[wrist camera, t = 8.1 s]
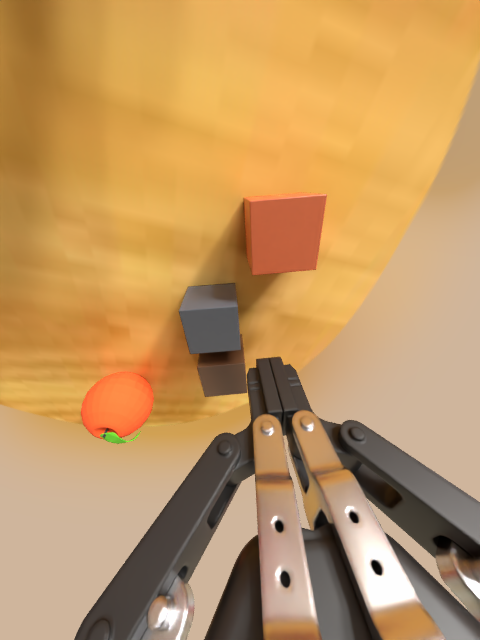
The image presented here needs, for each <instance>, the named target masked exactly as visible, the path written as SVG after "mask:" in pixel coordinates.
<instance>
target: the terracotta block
mask: <svg viewBox="0 0 480 640" xmlns="http://www.w3.org/2000/svg"><path fill="white" fill-rule="evenodd" d="M326 197H327V194H315V193H293V194H281V195H269V196H257V197H246V198H244V212H245V231H246V251H247V259H248V262H249V265H250V269H251V272H252V275H261V274H272V273H284V272H295V271H306V270H316V266H317V259H318V252H319V245H320V238H321V232H322V225H323V218H324V211H325V204H326Z"/></svg>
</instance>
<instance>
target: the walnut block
mask: <svg viewBox="0 0 480 640" xmlns="http://www.w3.org/2000/svg"><path fill="white" fill-rule="evenodd" d="M240 345H241V350H235V351H222V352H210V353H199V360H198V366H197V369H198V372H199V376H200V380H201V383H202V387H203V391H204V394H205V397H209V396H220V395H230V394H241V393H247V383H246V370H245V359H244V350H243V341H242V334H240Z"/></svg>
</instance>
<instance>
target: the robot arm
mask: <svg viewBox="0 0 480 640" xmlns="http://www.w3.org/2000/svg"><path fill="white" fill-rule="evenodd" d="M247 386H248V397H249V405H250V413H251V422H250V424H249V426H248V427H247V428H246V429H245V430H243V431H241V432H239V433H237V434H235V435H233V434H231V433H222V434H219V435H218V436H217V437H215V439H214V440H213V441H212V442H211V444H210V445H209V447H208V448H207V449H206V451H205V452H204V454H203V455H202V456H201V458H200V459H199V460H198V462H197V463H196V465H195V466H194V467H193V469H192V470H191V472H190V473H189V474H188V476H187V477H186V478H185V480H184V481H183V483H182V484H181V485H180V487H179V488H178V490H177V491H176V492H175V494H174V495H173V496H172V498H171V499H170V501H169V502H168V503H167V505H166V506H165V507H164V509H163V510H162V512H161V513H160V515H159V516H158V517H157V519H156V520H155V521H154V523H153V524H152V526H151V527H150V528H149V530H148V531H147V532H146V534H145V535H144V537H143V538H142V539H141V541H140V542H139V544H138V545H137V546H136V548H135V549H134V550H133V552H132V553H131V555H130V556H129V558H128V559H127V560H126V561H125V563H124V564H123V566H122V567H121V568H120V570H119V571H118V573H117V574H116V575H115V577H114V578H113V580H112V581H111V582H110V584H109V585H108V586H107V588H106V589H105V591H104V592H103V593H102V595H101V596H100V597H99V599H98V600H97V602H96V603H95V604H94V606H93V607H92V609H91V610H90V611H89V613H88V614H87V616H86V617H85V619H84V620H83V622H82V624H81V626H80V628H79V630H78V632H77V634H76V637H75V639H74V640H186V639H187V636H188V633H189V631H190V628H191V625H192V621H193V616H194V597H193V592H192V589H191V587H190V586H189V584H188V581H189V579H190V578H191V576H192V574H193V572H194V570H195V568H196V566H197V564H198V563H199V561H200V559H201V556H202V555H203V553H204V551H205V549H206V548H207V545H208V544H209V542H210V540H211V538H212V536H213V534H214V532H215V531H216V529H217V527H218V525H219V523H220V521H221V519H222V517H223V515H224V514H225V512H226V510H227V508H228V506H229V504H230V502H231V501H232V499H233V497H234V495H235V493H236V491H237V489H238V487H239V485H240V483H241V481H243V480H245V479H246V478H248V477H250V476H252V475H253V474H255V482H256V503H257V522H258V523H257V524H258V535H256V536H255V537H253V538H252V539H251V540H250V541H249V542H248V543H247V544H246V545H245V547H244V548H243V549H242V551H241V552H240V554H239V556H238V558H237V560H236V562H235V564H234V567H233V569H232V572H231V575H230V577H229V579H228V582H227V585H226V587H225V589H224V592H223V594H222V597H221V599H220V602H219V604H218V607H217V609H216V612H215V614H214V617H213V619H212V621H211V624H210V626H209V629H208V631H207V634H206V636H205V639H204V640H480V502H478V501H477V500H476V499H474V498H473V497H471V496H469V495H468V494H467V493H465V492H464V491H462V490H461V489H459V488H458V487H456V486H455V485H453V484H452V483H450V482H448V481H447V480H446V479H444V478H443V477H441V476H440V475H438V474H437V473H435V472H434V471H432V470H431V469H429V468H427V467H426V466H425V465H423V464H422V463H420V462H419V461H417V460H416V459H414V458H413V457H411V456H409V455H408V454H407V453H405V452H404V451H402V450H401V449H399V448H398V447H396V446H395V445H393V444H392V443H390V442H389V441H387V440H386V439H384V438H383V437H381V436H380V435H378V434H377V433H375V432H374V431H372V430H371V429H369V428H368V427H366V426H365V425H363V424H362V423H360V422H358V421H354V420H348V421H345V422H343V424H342V425H341V424H336V423H332V422H327V421H324V420H322V419H320V418H319V417H318V416H316V415H315V414H314V412H313V411H312V409H311V408H310V405H309V403H308V400H307V397H306V395H305V392H304V390H303V388H302V385H301V382H300V380H299V377H298V375H297V372H296V370H295V369H294V368H293V367H292V366H291V365H290V364H289V365H283V362H282V359H281V357H272V358H262V359H256V368H249V371H248V373H247ZM284 435H286V436H287V440H288V451H289V455H290V458H291V461H292V464H293V467H294V470H295V473H296V477H297V480H298V483H299V486H300V489H301V492H302V496H303V503H304V509H305V513H306V516H307V520H308V523H309V526H310V529H311V530H308V529H305V528H301V523H300V517H299V512H298V507H297V501H296V495H295V490H294V485H293V481H292V478H291V476H290V473H289V468H288V462H287V456H286V450H285V445H284V439H283V436H284ZM366 498H367V499H369V500H370V501H371V502H372V503H373V504H374V505H375V506H376V507H378V508H379V509H380V510H381V511H383V513H384V514H386V515H387V516H388V517H389V518H390V519H391V520H392V521H393V522H395V523H396V524H397V525H398V526H399V527H401V528H402V529H403V530H404V531H405V532H406V533H407V534H408V535H409V536H411V537H412V538H413V539H414V540H415V541H416V542H417V543H418V544H420V545H421V546H422V547H423V548H424V549H425V550H427V551H428V552H429V553H430V554H431V555H432V556H433V557H434V558H436V563H437V566H438V569H439V572H440V576H441V578H442V579H443V581H444V582H445V584H446V585H447V586H448V587H449V588H450V589H451V591H452V592H453V593H454V594H455V595H456V596H457V597H458V598H459V599H460V600H461V601H462V603H463V604H464V605H465V606H466V608H467V609H468V610H467V609H465V608H464V607H463V606H462V605H461V604H460V603H459V602H458V601H457V600H456V599H455V598H454V597H453V596H452V595H451V594H450V593H449V592H448V591H447V590H446V589H445V588H444V587H443V586H442V585H441V584H440V583H439V582H438V581H437V580H436V579H435V578H433V576H431V575H430V574H429V573H428V572H427V571H426V570H425V569H424V568H423V567H422V566H421V565H420V564H419V563H418V562H417V561H416V560H415V559H414V558H413V557H412V556H411V555H410V554H409V553H408V552H407V551H406V550H405V549H404V548H403V547H402V546H401V545H400V544H398V543H397V542H396V541H395V540H394V539H393V538H391V537H390V536H389V535H388V534H386V533H385V532H384V531H383V529H382V527H381V525H380V524H379V521H378V520H377V518H376V516H375V514H374V512H373V510H372V508H371V506H370V504H369V502H368V500H367V499H366Z"/></svg>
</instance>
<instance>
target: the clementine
mask: <svg viewBox="0 0 480 640" xmlns="http://www.w3.org/2000/svg"><path fill="white" fill-rule="evenodd" d="M153 400H154V397H153V391H152V388H151V386H150V385H149V383H148V382H147V380H145V379H144V378H143V377H141V376H139V375H137V374H134V373H129V372H119V373H115V374H111V375H109V376H106V377H104V378H103V379H101V380H100V381H98V382H97V383H96V384H95V385H94V386H93V387H92V388H91V389H90V390H89V391H88V392H87V395H86V397H85V399H84V401H83V403H82V409H81V416H82V421H83V425H84V426H85V427H86V429H87V430H88V431H89V432H90V433H91V434H92V435H93V436H95V437H97V438H100V439H105V440H106V441H108V442H112V443H118V444H119V443H125V442H129V441H125V440H123V439H121V438H122V437H125V436H127V435H130V434H131V433H133V432H134V431H135V430H137V429H138V428H140V427H141V426H142V425H143V423H144V422H145V421H146V420H147V418H148V417H149V415H150V413H151V411H152V406H153ZM138 435H139V434H138ZM138 435H137V436H136V437H135V438H133V439H132V440H130V441H133V440H134V439H136V438H137V437H138Z"/></svg>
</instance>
